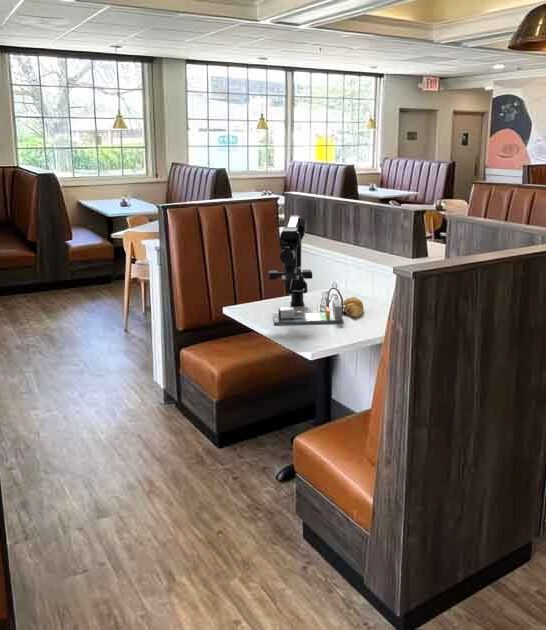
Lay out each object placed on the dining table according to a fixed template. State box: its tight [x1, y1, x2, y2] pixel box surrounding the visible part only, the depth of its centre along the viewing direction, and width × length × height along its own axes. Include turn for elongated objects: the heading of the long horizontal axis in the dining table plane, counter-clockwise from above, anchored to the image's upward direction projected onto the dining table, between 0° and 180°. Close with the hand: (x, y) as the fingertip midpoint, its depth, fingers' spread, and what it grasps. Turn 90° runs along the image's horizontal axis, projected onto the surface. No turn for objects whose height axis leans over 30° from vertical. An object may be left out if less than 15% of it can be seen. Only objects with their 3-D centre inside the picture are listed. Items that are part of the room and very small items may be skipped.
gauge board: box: [272, 299, 345, 326], centre depth 276 cm, size 13×30×7 cm, turn 92°
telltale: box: [324, 306, 331, 318], centre depth 277 cm, size 7×1×3 cm, turn 2°
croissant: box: [342, 296, 364, 318], centre depth 286 cm, size 21×10×8 cm, turn 1°
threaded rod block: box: [278, 306, 304, 318], centre depth 276 cm, size 4×11×4 cm, turn 92°
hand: (290, 293), depth 274 cm, fingers closed
